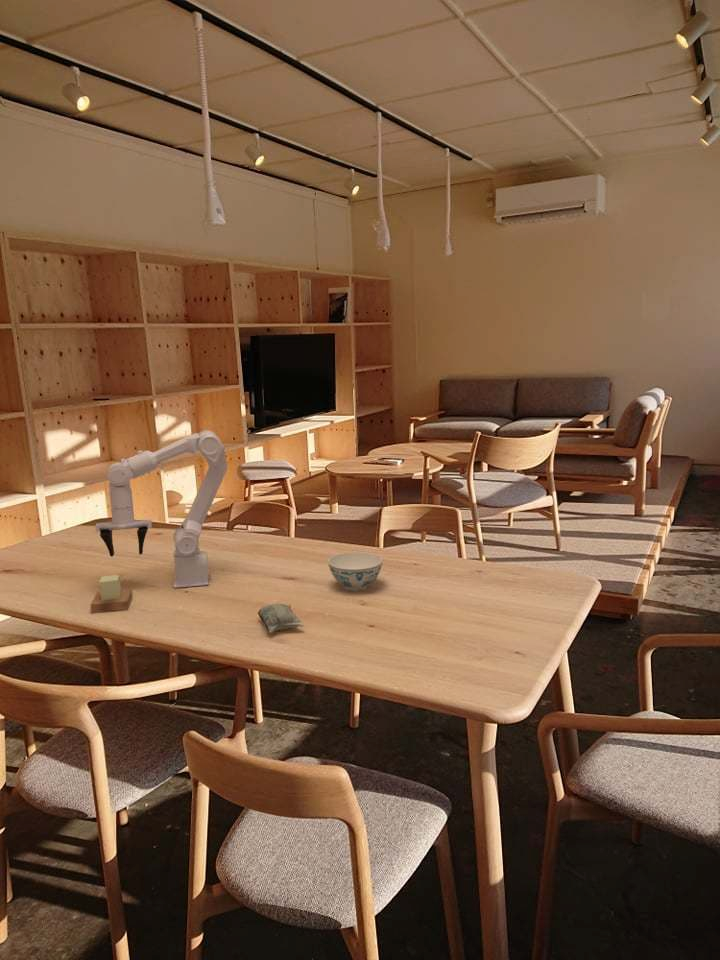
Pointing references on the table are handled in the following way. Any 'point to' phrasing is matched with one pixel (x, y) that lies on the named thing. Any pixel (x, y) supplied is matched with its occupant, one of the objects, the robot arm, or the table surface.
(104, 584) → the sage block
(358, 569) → the chinaware
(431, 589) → the table surface
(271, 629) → the packaged food
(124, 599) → the walnut box
